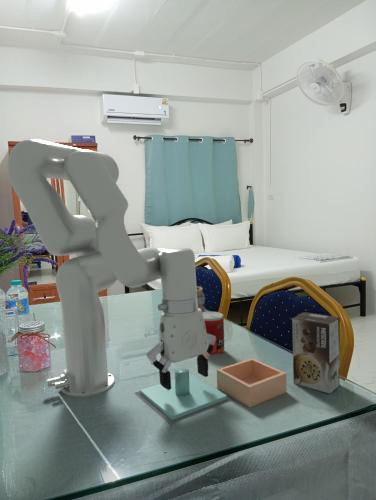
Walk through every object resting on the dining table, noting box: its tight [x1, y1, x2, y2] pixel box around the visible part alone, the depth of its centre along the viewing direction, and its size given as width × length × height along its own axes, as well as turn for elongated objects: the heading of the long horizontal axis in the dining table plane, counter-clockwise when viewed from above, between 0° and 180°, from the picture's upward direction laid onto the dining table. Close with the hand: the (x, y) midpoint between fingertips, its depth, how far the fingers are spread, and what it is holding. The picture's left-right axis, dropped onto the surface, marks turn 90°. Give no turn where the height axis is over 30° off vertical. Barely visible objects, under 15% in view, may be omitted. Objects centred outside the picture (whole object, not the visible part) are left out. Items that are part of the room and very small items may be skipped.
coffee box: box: [291, 311, 341, 394], centre depth 91 cm, size 9×6×16 cm
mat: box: [134, 381, 234, 425], centre depth 86 cm, size 16×16×1 cm
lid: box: [139, 367, 228, 420], centre depth 86 cm, size 14×14×6 cm
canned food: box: [202, 311, 225, 355], centre depth 114 cm, size 8×8×11 cm
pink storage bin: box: [216, 357, 287, 409], centre depth 88 cm, size 11×11×5 cm
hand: (185, 381), depth 86 cm, fingers open, 9 cm apart
